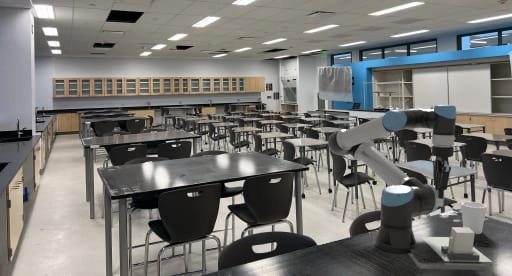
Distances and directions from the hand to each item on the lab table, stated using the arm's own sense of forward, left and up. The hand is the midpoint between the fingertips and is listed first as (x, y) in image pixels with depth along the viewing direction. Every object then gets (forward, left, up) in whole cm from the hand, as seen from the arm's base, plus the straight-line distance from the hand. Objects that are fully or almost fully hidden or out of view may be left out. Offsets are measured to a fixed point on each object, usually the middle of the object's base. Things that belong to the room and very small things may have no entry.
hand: (438, 205), depth 146 cm
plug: (+3, -12, -15) cm, 19 cm away
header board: (+4, -5, -17) cm, 18 cm away
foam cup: (+20, +14, -17) cm, 30 cm away
